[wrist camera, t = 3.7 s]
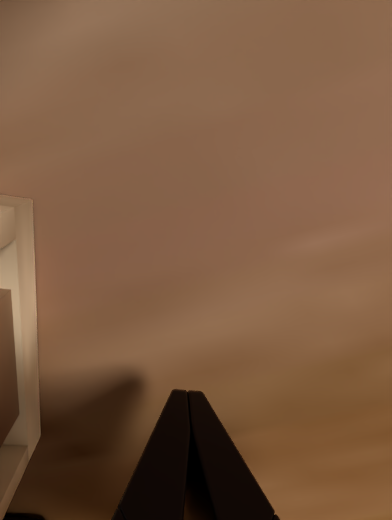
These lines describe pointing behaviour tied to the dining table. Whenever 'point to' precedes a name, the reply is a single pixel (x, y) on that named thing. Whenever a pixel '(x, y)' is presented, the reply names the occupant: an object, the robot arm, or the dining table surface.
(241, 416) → the dining table surface
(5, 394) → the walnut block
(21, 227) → the trap tray
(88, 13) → the dining table surface
